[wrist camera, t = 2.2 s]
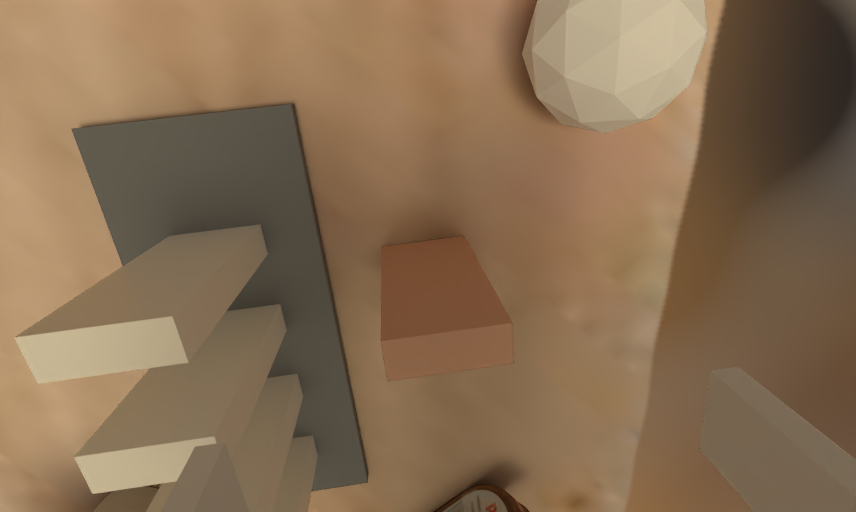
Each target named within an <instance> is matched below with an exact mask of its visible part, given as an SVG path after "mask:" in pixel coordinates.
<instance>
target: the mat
mask: <svg viewBox="0 0 856 512" xmlns="http://www.w3.org/2000/svg"><path fill="white" fill-rule="evenodd" d="M72 132H73V134H74V137H75V140H76V142H77V145H78V148H79V150H80V153H81V156H82V158H83V161H84V164H85V166H86V169H87V172H88V174H89V177H90V180H91V182H92V185H93V188H94V190H95V193H96V196H97V198H98V201H99V204H100V206H101V209H102V212H103V214H104V217H105V220H106V222H107V225H108V228H109V230H110V233H111V236H112V238H113V241H114V244H115V246H116V249H117V252H118V254H119V257H120V260H121V262H122V265H123V266H124V265H126V264H127V263H129V262H130V261H132V260H133V259H135V258H136V257H138V256H139V255H141V254H143V253H144V252H146V251H147V250H149V249H150V248H152V247H153V246H155V245H156V244H158V243H159V242H161V241H162V240H164V239H165V238H167V237H168V236H172V235H180V234H188V233H196V232H204V231H212V230H220V229H227V228H235V227H243V226H251V225H259V224H260V225H261V229H262V233H263V237H264V241H265V245H266V249H267V253H268V255H267V256H266V257H265V259H264V260H263V262H262V263H261V264H260V266H259V267H258V268H257V270H256V271H255V273H254V274H253V275H252V277H251V278H250V279H249V281H248V282H247V283H246V285H245V286H244V288H243V289H242V290H241V292H240V293H239V294H238V296H237V297H236V298H235V300H234V301H233V303H232V304H231V305H230V307H229V308H228V309H227V311H232V310H239V309H246V308H254V307H261V306H269V305H276V304H280V305H281V309H282V313H283V317H284V321H285V325H286V329H287V331H286V333H285V335H284V338H283V340H282V343H281V345H280V347H279V350H278V352H277V355H276V357H275V359H274V362H273V364H272V367H271V369H270V371H269V374H268V376H267V378H271V377H278V376H285V375H292V374H298V378H299V382H300V386H301V390H302V394H303V399H302V403H301V407H300V411H299V414H298V418H297V422H296V426H295V429H294V433H293V437H292V438H298V437H305V436H311V435H313V438H314V442H315V446H316V450H317V454H318V458H317V463H316V469H315V474H314V480H313V485H312V491H317V490H323V489H330V488H336V487H342V486H349V485H355V484H361V483H368V470H367V465H366V460H365V455H364V450H363V445H362V440H361V435H360V430H359V425H358V420H357V415H356V410H355V405H354V400H353V395H352V390H351V385H350V380H349V375H348V370H347V366H346V361H345V356H344V351H343V346H342V341H341V336H340V331H339V326H338V321H337V316H336V311H335V306H334V301H333V296H332V291H331V286H330V281H329V276H328V271H327V266H326V261H325V256H324V251H323V246H322V241H321V236H320V231H319V226H318V221H317V216H316V211H315V206H314V201H313V196H312V191H311V186H310V181H309V176H308V171H307V166H306V161H305V156H304V151H303V146H302V141H301V136H300V131H299V126H298V121H297V116H296V111H295V106H294V104H287V105H278V106H269V107H260V108H251V109H242V110H233V111H225V112H216V113H207V114H198V115H189V116H180V117H171V118H162V119H153V120H145V121H136V122H127V123H118V124H109V125H100V126H91V127H82V128H73V129H72Z"/></svg>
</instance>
